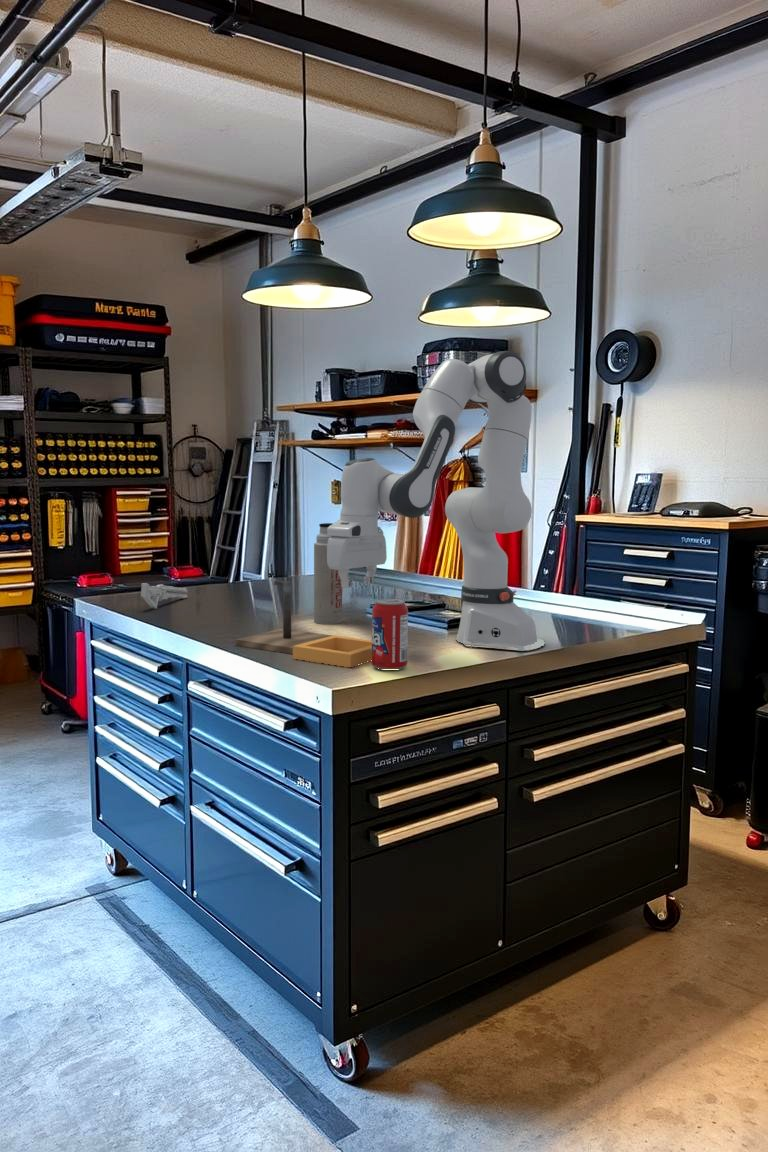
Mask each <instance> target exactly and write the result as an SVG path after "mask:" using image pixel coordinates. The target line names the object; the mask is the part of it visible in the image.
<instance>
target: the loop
mask: <svg viewBox="0 0 768 1152" xmlns="http://www.w3.org/2000/svg"><path fill="white" fill-rule="evenodd" d="M347 651H348V652H347ZM292 659H293V660H296V659H298V660H297V661H302V660H305V662H309V661H310V662H309V663H315V662H316V663H317V664H321V663H324V664H323V665H328V664H330V666H334V665H337V666H336V667H340V666H344V667H343V668H347V667H352V668H354V667H353V666H355V667H357V666H356V665H358V664H361V663H364V662H367V661H370V660H372V639H371V640H370V639H363V638H357V637H348V636H340V635H333V636H329V637H325V638H322V639H318V640H314V641H310V642H307V643H303V644H299V645H295V646H293V654H292ZM370 662H371V661H370ZM367 663H368V662H367ZM364 664H365V663H364ZM361 665H362V664H361ZM358 666H359V665H358Z"/></svg>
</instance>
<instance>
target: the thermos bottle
mask: <svg viewBox="0 0 768 1152" xmlns="http://www.w3.org/2000/svg"><path fill="white" fill-rule="evenodd" d="M332 524H334V523H330V522H329V523H328V522H326V523H325V522H323V523H319V533H318V534H317V535H316V537H315V539H316V542H315V543H314V544H313V623H315V624H319V625H337V624H341V623H342V622H343V588H342V587H341V579H340V576H339V574H338V570H335V569H330V568H329V566H328V564H327V543H328V540H329V538H330V537H331V536H328V535H327V528H328V527H329V526H330V525H332Z"/></svg>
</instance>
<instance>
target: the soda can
mask: <svg viewBox="0 0 768 1152" xmlns="http://www.w3.org/2000/svg"><path fill="white" fill-rule="evenodd" d="M405 603H406V602H405V600H403V599H396V598H384V599H383V598H382V599H377V600H375V603H374V605H373V606H372V608H371V640H372V661H371V665H372V666H373V667H374V668H376V669H377V668H379V669H400V668H402V669H404V668H406V667H407V665H408V640H409V639H408V637H409V636H408V634H409V633H408V629H409V627H408V626H409V622H408V621H409V613H408V612H409V609H408V606H407V605H406V604H405ZM379 669H378V670H379ZM400 670H401V669H400Z"/></svg>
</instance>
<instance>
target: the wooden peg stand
mask: <svg viewBox="0 0 768 1152" xmlns="http://www.w3.org/2000/svg"><path fill="white" fill-rule="evenodd" d="M274 586H278V587H279V586H281V587H282V618H283V619H282V628H278V629H275V630H274V629H273V630H270V631H265V632H262V633H257V634H253V635H252V634H251V635H249V636H243V637H240V638H235V646H237V647H244V648H250V649H256V650H257V649H258V650H262V649H263V650H264V651H271V652H275V651H276V653H281V652H282V653H284V654H289V655H290V654H291V655H293V646H295V645H299V644H303V643H307V642H310V641H314V640H318V639H322V638H325V637H329V636H333V635H332V634H326V633H325V634H324V633H317V632H310V631H305V630H304V631H303V630H302V631H301V630H295V629H292V581H288V580H287V581H283V580H274ZM282 653H281V654H282Z"/></svg>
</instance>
